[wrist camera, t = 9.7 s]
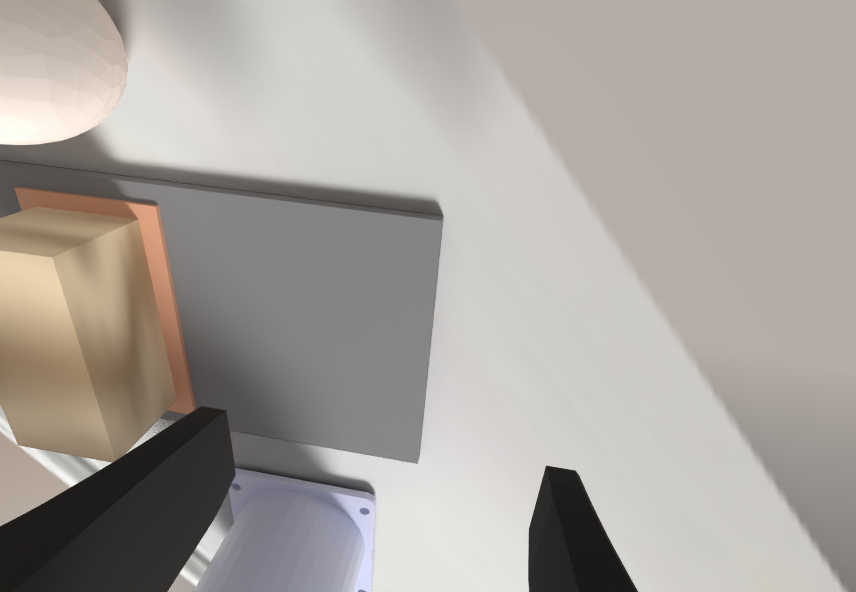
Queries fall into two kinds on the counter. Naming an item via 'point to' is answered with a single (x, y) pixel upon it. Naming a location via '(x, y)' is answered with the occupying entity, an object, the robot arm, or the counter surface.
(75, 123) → the egg
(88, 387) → the tan wooden block
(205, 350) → the rubber mat
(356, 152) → the counter surface
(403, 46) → the counter surface
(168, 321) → the terracotta strip
